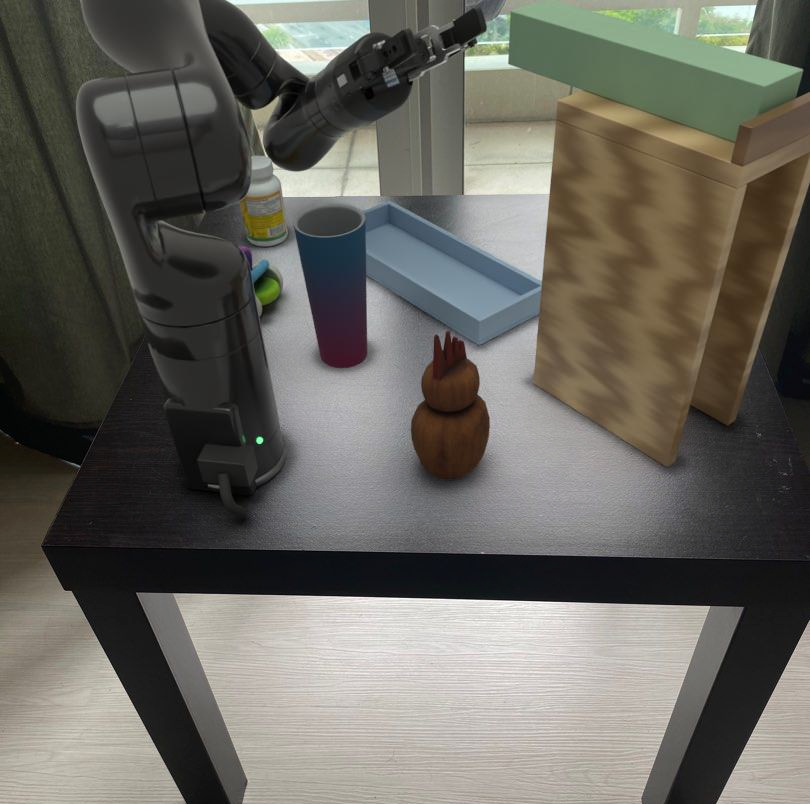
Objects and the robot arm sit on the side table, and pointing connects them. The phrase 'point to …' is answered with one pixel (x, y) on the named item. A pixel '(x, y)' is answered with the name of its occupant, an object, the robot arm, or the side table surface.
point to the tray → (447, 274)
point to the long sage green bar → (649, 67)
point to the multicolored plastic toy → (264, 280)
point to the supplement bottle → (264, 205)
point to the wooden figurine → (450, 414)
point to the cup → (335, 279)
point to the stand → (663, 262)
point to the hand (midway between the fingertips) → (447, 29)
